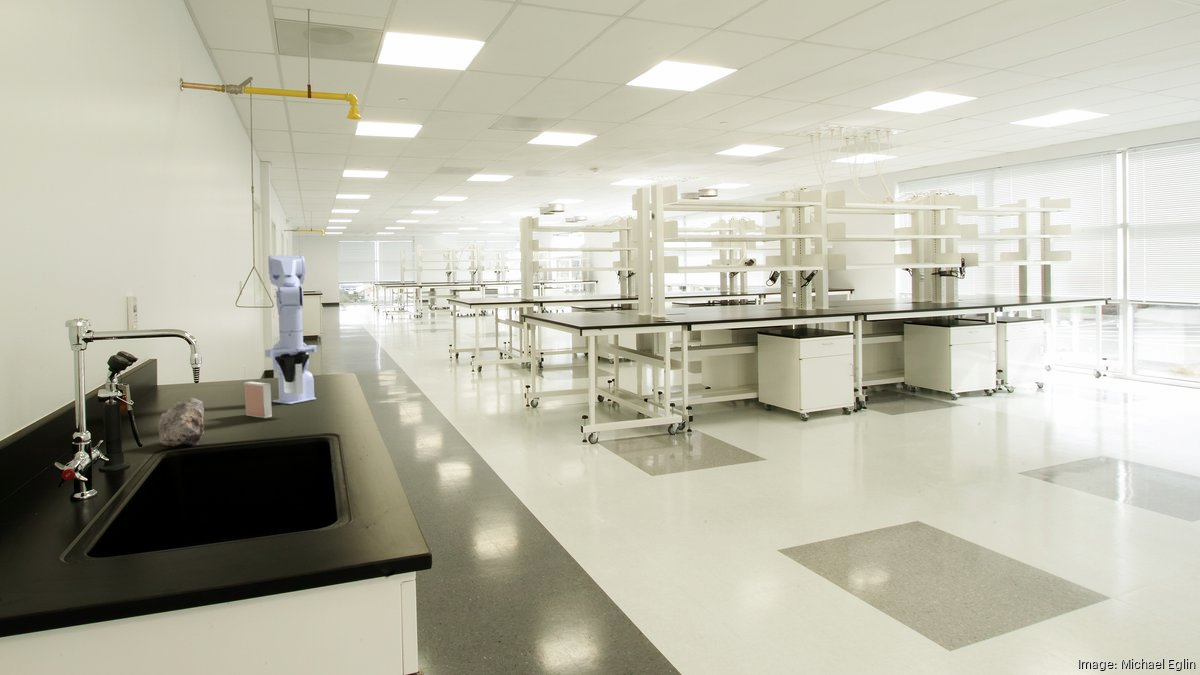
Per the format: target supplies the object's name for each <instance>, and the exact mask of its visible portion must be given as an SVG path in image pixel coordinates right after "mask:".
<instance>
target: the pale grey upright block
mask: <svg viewBox="0 0 1200 675" xmlns="http://www.w3.org/2000/svg"><path fill="white" fill-rule="evenodd" d="M284 393H292V394H300V393H303V376H302V364H300V363H294V366H293V382H286V381H285V378H284Z"/></svg>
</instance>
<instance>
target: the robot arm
mask: <svg viewBox="0 0 1200 675" xmlns="http://www.w3.org/2000/svg"><path fill="white" fill-rule="evenodd" d="M267 259H268V261H267V262H268V264H267V265H268V274H269V281H270V284H271V285H274V286H276V289H275V298H276V299H275V300H276V303H275V304H276V308H277V314H278V316H279V317H278V331H279V341H278V342H277V343H275V344H274V345H273V347H272V348H269V349H264V356H265V358H269V359H272V370H273V371H274V372H277V376H278V377H277V380H278V383H277V384H278V399H273V400H272V403H280V404H286V405H292V404H297V403H302V402H308V401H314V400H317V397H315V380H314V376H313V374H312V372H310V371H309V370H308V369H309V368H310V361H309V360H310V354H309V353H317V352H318V345H317V344H310V345H307V343H305V342H304V330H303V329H304V326H303V308H304V290H303V287H302V285H304V281H305V275H306V261H305V256H303V255H301V254H300V255H279V254H278V255H274V254H269V255H268V256H267ZM294 363H300V364H302V376H303V393H300V394H292V393H284V378H285V381H286V382H293V366H294Z"/></svg>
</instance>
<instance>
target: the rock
mask: <svg viewBox="0 0 1200 675" xmlns="http://www.w3.org/2000/svg"><path fill="white" fill-rule="evenodd" d="M204 415H205V408H204V402H203V401H202V400H200V399H198V398H195V397H192V398H191V397H190V398H189V399H188V400H187V401H186V402H185V401H183V402H180V401H177V402H175V403H174V404H173V405H172V406H171V407H169V408H168V409H167V411H166V412H163V413H161V415H160V417H159V419H158V420H159V421H158V426H157V427H158V435H159V436H158V438H159V442H160V444H161V445H162V446H163V445H164V446H167V447H168V446H169V447H170V446H172V447H175V446H176V447H177V446H181V445H188V446H198V445H199V444H200V442H199V441H200V438H202V436H203V435H204V432H205V431H204V430H205V425H204Z"/></svg>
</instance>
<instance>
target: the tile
mask: <svg viewBox="0 0 1200 675" xmlns="http://www.w3.org/2000/svg"><path fill="white" fill-rule="evenodd" d="M243 384H244V399H245V400H244V402H245V416H250V417H254V418H255V417H256V418H263V419H267V418H272V417H273V412H272V411H273V410H272V409H273V408H272V390H271V383H268V382H267V383H266V382H260V381H259V382H257V381H247V382H244V383H243Z"/></svg>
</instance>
